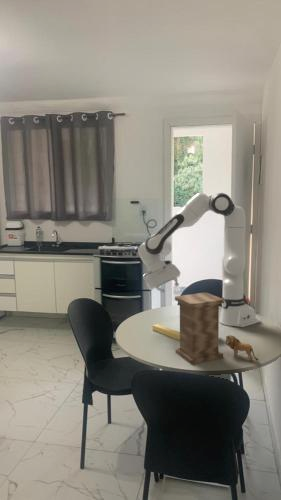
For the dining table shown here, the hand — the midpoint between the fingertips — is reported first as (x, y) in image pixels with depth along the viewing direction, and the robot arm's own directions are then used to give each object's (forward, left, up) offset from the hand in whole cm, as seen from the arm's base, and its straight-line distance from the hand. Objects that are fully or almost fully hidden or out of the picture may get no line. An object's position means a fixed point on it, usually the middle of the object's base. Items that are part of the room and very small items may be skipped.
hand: (170, 289), depth 209 cm
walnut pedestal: (+7, +39, -21) cm, 45 cm away
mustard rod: (+7, +12, -21) cm, 25 cm away
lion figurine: (-8, +49, -21) cm, 54 cm away
